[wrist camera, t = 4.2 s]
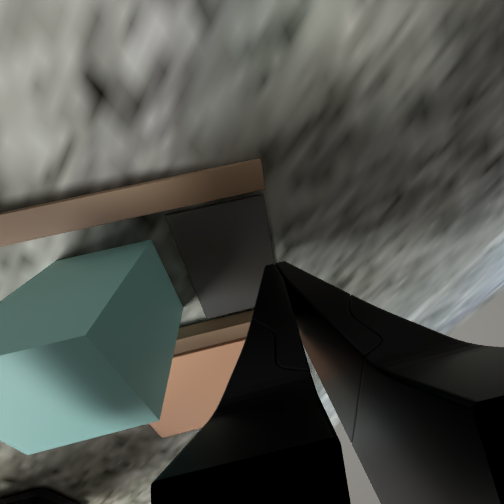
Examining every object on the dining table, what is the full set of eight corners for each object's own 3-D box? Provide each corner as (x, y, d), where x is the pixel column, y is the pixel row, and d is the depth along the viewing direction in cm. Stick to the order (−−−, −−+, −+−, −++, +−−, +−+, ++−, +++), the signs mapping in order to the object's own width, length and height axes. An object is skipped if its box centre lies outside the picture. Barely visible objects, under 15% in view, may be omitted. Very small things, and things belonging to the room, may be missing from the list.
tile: (267, 397, 16) (270, 409, 15) (164, 424, 15) (162, 438, 15) (248, 327, 12) (250, 338, 11) (110, 361, 12) (103, 375, 11)
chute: (281, 316, 12) (285, 326, 11) (-40, 394, 11) (-57, 411, 10) (257, 158, 8) (260, 160, 7) (-254, 266, 7) (-306, 279, 6)
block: (183, 307, 11) (159, 420, 6) (106, 325, 11) (27, 455, 6) (151, 238, 9) (85, 335, 4) (56, 260, 9) (-111, 382, 4)
